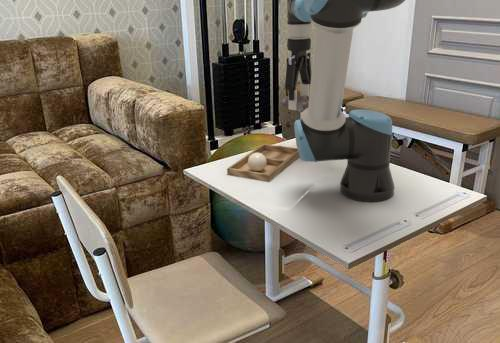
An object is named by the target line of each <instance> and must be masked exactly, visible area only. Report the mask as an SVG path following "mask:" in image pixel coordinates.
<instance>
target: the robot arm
mask: <svg viewBox="0 0 500 343" xmlns="http://www.w3.org/2000/svg"><path fill="white" fill-rule="evenodd" d="M405 1H406V0H286V3H287V4H286V5H287V6H286V8H287V9H286V11H287V12H286V13H287V14H286V16H287V24H286V25H287V27H286V30H287V39H286V40H287V41H286V42H287V44H286V45H287V47H286V48H287V51H290V52H291V55H290V57H287V58H286V71H285V72H286V73H285V82H284V89H285V91H287V92H288V96H287V97H288V108H287V109H288V110H290V111H295V110H297V96H298V89H296V88H297V84H298V79H299V76H300V80H301V84H300V96H305V95H307V96H308V97H309V105H308V108H306V109H305V110H304V111H303V112H301V119H296V120H295V121H294V123H293V124H294V126H293V127H294V137H295V144H296V148H297V149H298V153H299V156H300V157H299V158H300V159H301V161H303V162H306V163H307V162H309V163H311V162H313V163H317V162H327V161H343V160H345V161H347V162H346V164H347V165H346V167H345V170H344V172H343V174H342V177H341V179H340V184H339V191H340V193H341V194H342V195H343V196H345V197H347V198H349V199H351V200H354V201H359V202H369V203H370V202H374V203H375V202H380V201H381V202H382V201H385V200H388V199H391V197H393V195H394V193H395V183H394V179H393V176H392V172H391V168H390V161H391V151H392V150H391V148H392V139H393V134H394V133H393V119H392V118H391V117H390V116H389V115H387V114H385V113H383V112H380V111H376V110H371V109H353V110H350V111H349V113H348V116H346V115H345V113H344V112H343V111H342V108H343V100H344V94H345V88H346V87H345V86H346V82H347V81H346V80H347V74H348V67H349V62H350V52H351V46H352V40H353V35H354V34H353V31H354V29H355V28H356V27H358V26H359V25H360V24H361V22H362V19H364V18H366V17H367V15H368V13H369V12H378V11H386V10H391V9H394V8H397V7H399V6H400V5H401V4H403V3H405ZM312 23H313V24H314V25H315V32H314V33H315V35H314V43H313V44H314V45H313V55H311V52H307V51H310V50H311V46H312V44H311V42H312V41H311V40H312V39H311V38H310V37H311V36H312ZM311 56H312V64H311Z"/></svg>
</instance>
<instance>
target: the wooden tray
mask: <svg viewBox="0 0 500 343" xmlns="http://www.w3.org/2000/svg"><path fill="white" fill-rule="evenodd" d="M253 153H261V154H263V155H264V156H265V157H266V160H267V164H266V167H265V168H264V169H263V170H261V171H253V170H251V169H250V167H249V166H248V158H249V157H250V155H251V154H253ZM298 158H300V156H299V153H298V149H297V147H296V148H295V147H290V146H283V145H282V146H281V145H275V144H267V143H263V144H261V145H260V146H258V147H257V148H256V149H254V150H252V151H251V152H249V153H247V154H246V155H245V156H243V157H242V158H240V159H239V160H238V161H236V162H234V163H233V164H231V165H229V166H228V167H227V168H226V171H227V173H226V174H227V176H233V177H239V178H243V179H245V178H246V179H251V180H255V181H261V182H262V181H263V182H269V183H270V182H271V181H273V179H275V177H278V175H280V174H281V173H283V171H284V170H285V169H287V168H288V167H289V166H290V165H291V164H292V163H293V162H295V161H296V160H298Z"/></svg>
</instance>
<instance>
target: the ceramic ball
mask: <svg viewBox="0 0 500 343" xmlns="http://www.w3.org/2000/svg"><path fill="white" fill-rule="evenodd" d="M266 164H267V160H266V157H265V156H264V155H263V154H261V153H253V154H251V155H250V157H249V158H248V166H249V167H250V169H251V170H253V171H261V170H263V169H264V168H265V167H266Z"/></svg>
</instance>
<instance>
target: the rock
mask: <svg viewBox="0 0 500 343" xmlns="http://www.w3.org/2000/svg"><path fill="white" fill-rule="evenodd" d="M281 105H282V106H283V108H284V109H288V96H286V95H285V96H284V97H283V98H282V99H281ZM308 105H309V97H308V96H307V95H305V96H301V95H297V110H294V111H295V112H299V113H303V111H304V110H305V109H306V108H308Z"/></svg>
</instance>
